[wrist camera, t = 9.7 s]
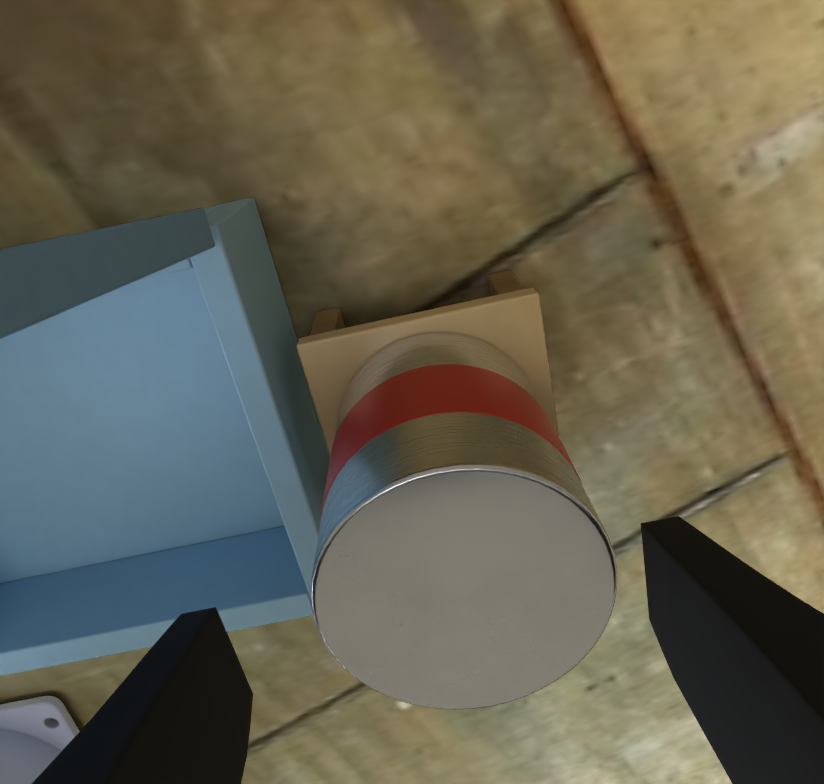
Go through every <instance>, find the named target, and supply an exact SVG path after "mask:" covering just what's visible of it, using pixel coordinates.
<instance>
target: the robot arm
mask: <svg viewBox="0 0 824 784" xmlns="http://www.w3.org/2000/svg"><path fill="white" fill-rule="evenodd" d="M641 530H642V541H643V553H644V564H645V575H646V586H647V598H648V609H649V619H650V622H651V624H652V627H653V629H654V632H655V634H656V637H657V639H658V642H659V644H660V647H661V649H662V651H663V654H664V656H665V658H666V661H667V663H668V666H669V668H670V670H671V673H672V675H673V677H674V679H675V681H676V683H677V685H678V686H679V688H680V690H681V692H682V694H683V696H684V697H685V699H686V701H687V703H688V705H689V707H690V708H691V710H692V712H693V714H694V716H695V717H696V719H697V721H698V723H699V725H700V726H701V728H702V730H703V732H704V734H705V735H706V737H707V739H708V741H709V742H710V744H711V746H712V748H713V750H714V751H715V753H716V755H717V757H718V759H719V760H720V762H721V764H722V766H723V767H724V769H725V771H726V773H727V775H728V776H729V778H730V780H731V782H732V784H824V614H823V613H821V612H820V611H818V610H816V609H815V608H813V607H811V606H810V605H808V604H807V603H805V602H803V601H802V600H800V599H799V598H797V597H796V596H794V595H792V594H791V593H789V592H788V591H786V590H785V589H783V588H782V587H780V586H779V585H777V584H776V583H774V582H773V581H771V580H769V579H768V578H766V577H765V576H763V575H762V574H760V573H759V572H757V571H756V570H754V569H753V568H752V567H750V566H749V565H747V564H746V563H744V562H743V561H741V560H740V559H739V558H737V557H736V556H734V555H733V554H731V553H730V552H729V551H727V550H726V549H724V548H723V547H721V546H720V545H719V544H717V543H716V542H714V541H713V540H712V539H710V538H709V537H707V536H706V535H705V534H703V533H702V532H700V531H699V530H698V529H696V528H695V527H693V526H692V525H690V524H689V523H688V522H686V521H685V520H683V519H682V518H680V517H679V516H677V517H672V518H667V519H661V520H656V521H651V522H646V523H641ZM252 700H253V693H252V690H251V688H250V686H249V683H248V681H247V679H246V676H245V674H244V672H243V669H242V667H241V665H240V662H239V660H238V658H237V655H236V653H235V651H234V648H233V646H232V644H231V641H230V639H229V637H228V634H227V632H226V629H225V627H224V625H223V622H222V620H221V618H220V615H219V613H218V611H217V608H216V607H213V608H208V609H203V610H198V611H193V612H188V613H182V614H181V615H180V616H179V617H178V618H177V619H176V620H175V621H174V622H173V623H172V625H171V626H170V627H169V628H168V629H167V630H166V631H165V633H164V634H163V635H162V636H161V637H160V638H159V640H158V641H157V642H156V643H155V644H154V645H153V647H152V648H151V649H150V650H149V651H148V653H147V654H146V655H145V656H144V657H143V659H142V660H141V661H140V662H139V663H138V665H137V666H136V667H135V668H134V669H133V671H132V672H131V673H130V674H129V675H128V676H127V678H126V679H125V680H124V681H123V682H122V684H121V685H120V686H119V687H118V688H117V689H116V691H115V692H114V693H113V694H112V695H111V696H110V698H109V699H108V700H107V701H106V702H105V703H104V705H103V706H102V707H101V708H100V709H99V710H98V712H97V713H96V714H95V715H94V716H93V717H92V719H91V720H90V721H89V722H88V723H87V724H86V725H85V726H84V727H83V728H82V730H81V731H79V729H78V728H77V726H76V724H75V723H74V721H73V719H72V718H71V716H70V714H69V713H68V711H67V709H66V708H65V706H64V704H63V703H62V702H61V700H60V699H58V698H56V697H53V696H42V697H37V698H32V699H26V700H21V701H16V702H11V703H5V704H0V784H241V780H242V776H243V771H244V766H245V762H246V757H247V749H248V741H249V732H250V722H251V711H252Z"/></svg>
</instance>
